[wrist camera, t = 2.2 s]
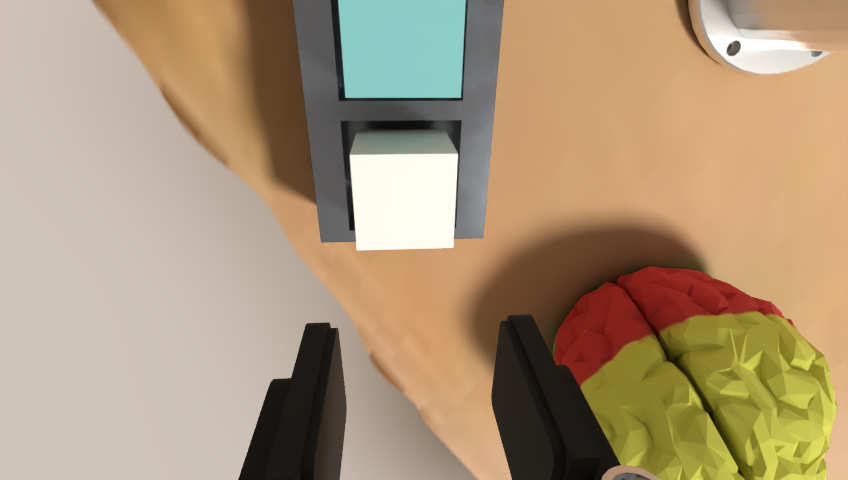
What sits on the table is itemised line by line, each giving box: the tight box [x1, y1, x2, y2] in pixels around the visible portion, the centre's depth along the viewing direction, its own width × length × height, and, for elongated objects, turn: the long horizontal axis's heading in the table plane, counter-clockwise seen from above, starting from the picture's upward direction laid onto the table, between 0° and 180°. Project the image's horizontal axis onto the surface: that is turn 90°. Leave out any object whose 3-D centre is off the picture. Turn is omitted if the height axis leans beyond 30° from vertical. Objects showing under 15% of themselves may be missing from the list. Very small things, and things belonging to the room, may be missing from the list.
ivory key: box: [350, 129, 458, 250], centre depth 22 cm, size 5×5×5 cm
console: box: [292, 0, 504, 242], centre depth 22 cm, size 10×23×5 cm, turn 179°
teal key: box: [338, 0, 466, 98], centre depth 19 cm, size 5×5×5 cm
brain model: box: [552, 266, 837, 480], centre depth 32 cm, size 24×19×15 cm
